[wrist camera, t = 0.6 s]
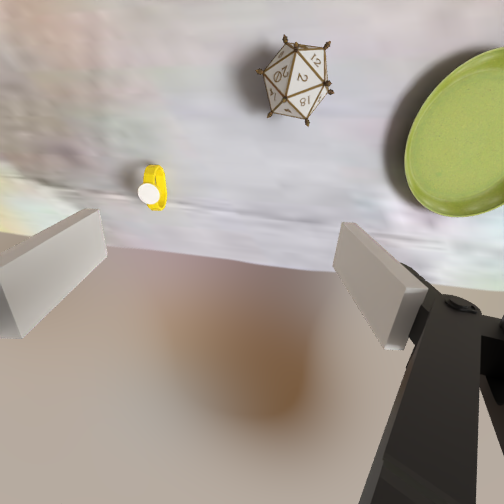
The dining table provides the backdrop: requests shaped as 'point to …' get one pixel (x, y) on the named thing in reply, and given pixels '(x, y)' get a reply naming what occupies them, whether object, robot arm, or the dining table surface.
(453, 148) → the saucer
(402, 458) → the robot arm
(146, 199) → the watch
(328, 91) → the game die
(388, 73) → the dining table surface
